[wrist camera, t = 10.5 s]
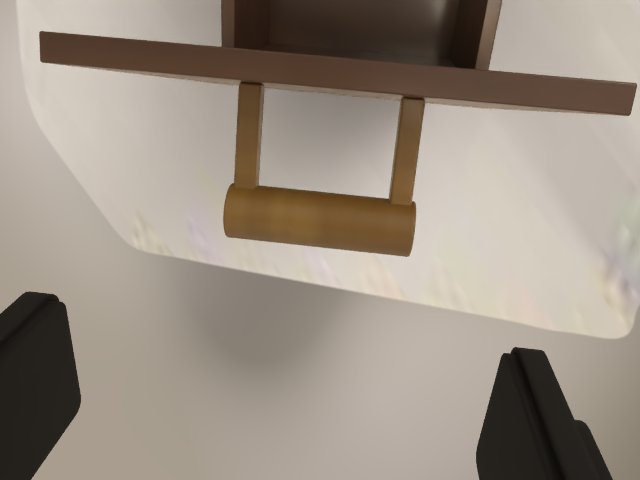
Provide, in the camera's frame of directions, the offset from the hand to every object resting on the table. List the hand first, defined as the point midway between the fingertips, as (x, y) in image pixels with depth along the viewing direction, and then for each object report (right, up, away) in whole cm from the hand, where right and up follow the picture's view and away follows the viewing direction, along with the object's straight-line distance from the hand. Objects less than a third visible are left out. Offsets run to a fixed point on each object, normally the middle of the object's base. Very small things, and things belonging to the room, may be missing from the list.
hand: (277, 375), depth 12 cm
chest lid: (+2, +10, +11) cm, 15 cm away
